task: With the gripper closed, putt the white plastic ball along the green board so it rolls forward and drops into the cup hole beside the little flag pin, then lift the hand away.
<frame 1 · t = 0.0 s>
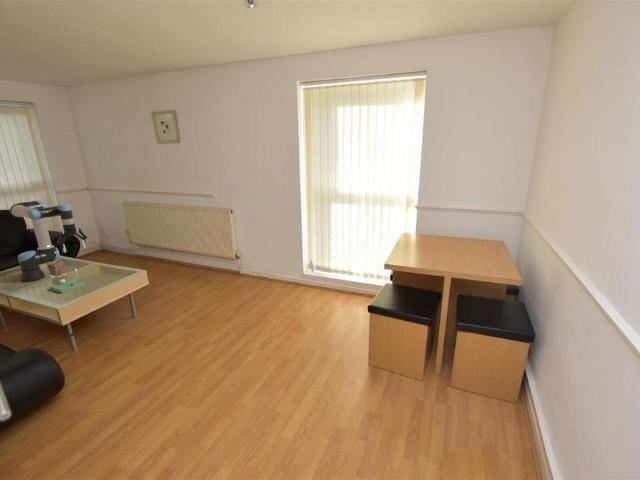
hand: (74, 249, 250), 28 cm above the table, fingers open, 13 cm apart
ball: (62, 281, 248), point 4 cm above the table, touching green board
green board: (67, 287, 247), on the table
pin: (79, 282, 250), resting on green board
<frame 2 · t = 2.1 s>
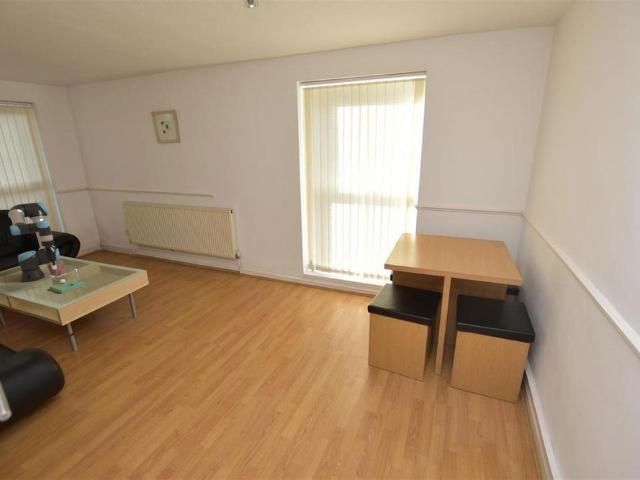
hand: (54, 268, 249), 14 cm above the table, fingers closed
nothing on the table moved.
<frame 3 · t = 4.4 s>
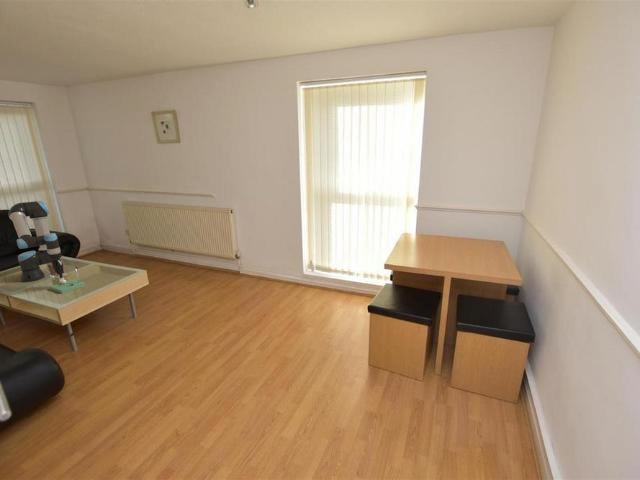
hand: (61, 281, 249), 4 cm above the table, fingers closed
ball: (63, 281, 247), point 4 cm above the table, tilted 52°, touching green board
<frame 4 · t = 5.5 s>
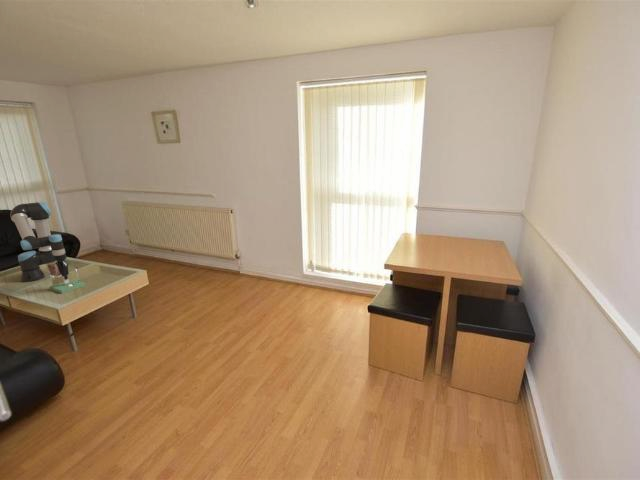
hand: (66, 282, 246), 4 cm above the table, fingers closed
ball: (70, 286, 244), point 2 cm above the table, tilted 38°
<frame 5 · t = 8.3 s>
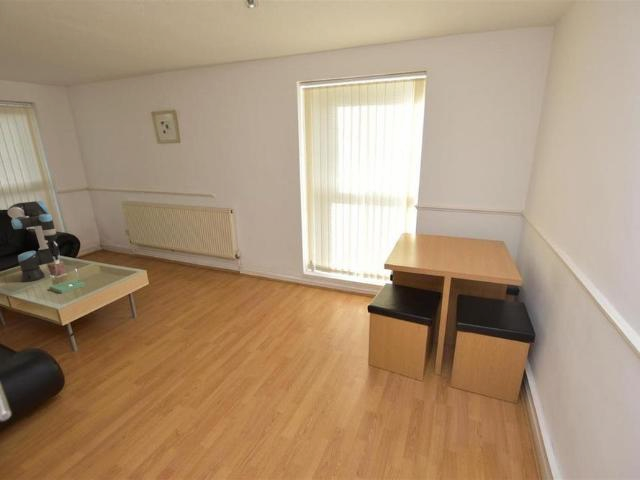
hand: (57, 263, 245), 19 cm above the table, fingers closed
nothing on the table moved.
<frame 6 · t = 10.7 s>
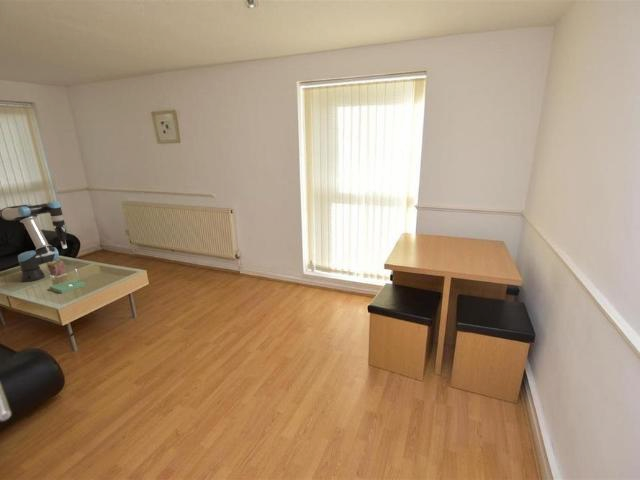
hand: (64, 248, 260), 26 cm above the table, fingers closed
nothing on the table moved.
at the end: ball 0.5 cm from the target spot in the green board, point 1.7 cm above the green board's base; the gripper is holding nothing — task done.
